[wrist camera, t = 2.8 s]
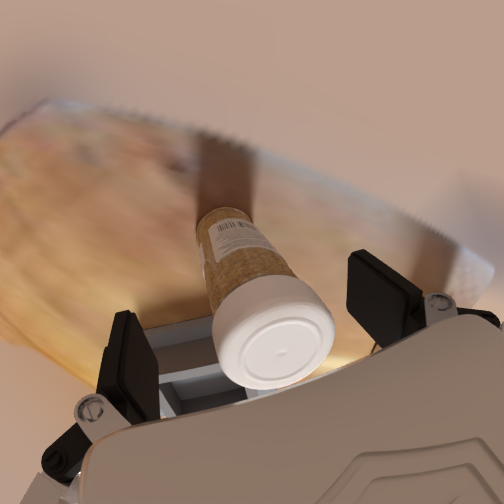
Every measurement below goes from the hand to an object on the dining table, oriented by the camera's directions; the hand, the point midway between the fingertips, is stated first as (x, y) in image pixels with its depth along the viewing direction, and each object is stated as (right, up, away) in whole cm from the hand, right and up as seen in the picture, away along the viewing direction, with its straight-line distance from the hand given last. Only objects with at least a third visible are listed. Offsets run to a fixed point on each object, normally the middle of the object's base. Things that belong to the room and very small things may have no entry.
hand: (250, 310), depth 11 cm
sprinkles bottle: (-2, +4, +10) cm, 11 cm away
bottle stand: (-5, -9, +15) cm, 18 cm away
